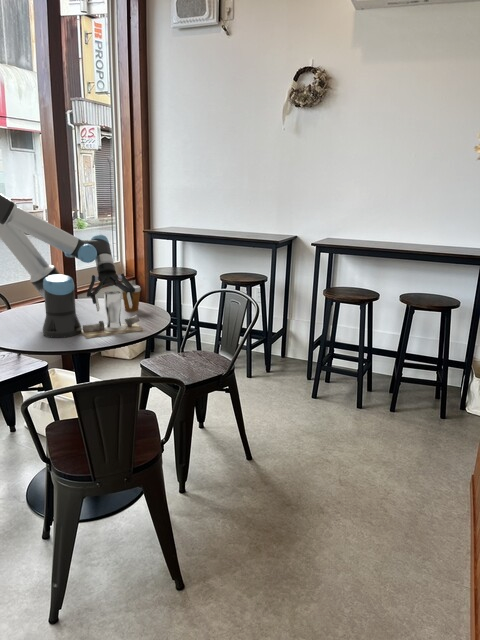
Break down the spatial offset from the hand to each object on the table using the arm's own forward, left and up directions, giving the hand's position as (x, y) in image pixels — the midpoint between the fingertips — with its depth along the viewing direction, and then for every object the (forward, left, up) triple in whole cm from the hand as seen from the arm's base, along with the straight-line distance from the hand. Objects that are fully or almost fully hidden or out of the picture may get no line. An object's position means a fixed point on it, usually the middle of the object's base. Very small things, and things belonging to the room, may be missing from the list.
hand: (115, 308), depth 201 cm
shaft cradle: (-1, +2, -10) cm, 11 cm away
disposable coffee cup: (+18, +31, -10) cm, 37 cm away
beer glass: (0, +2, -9) cm, 9 cm away
